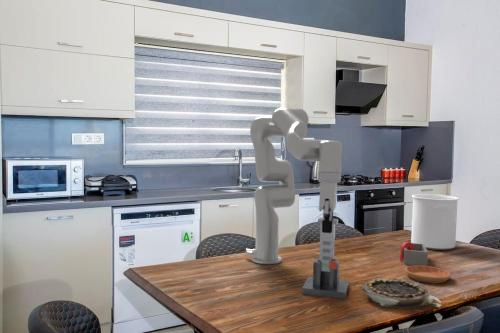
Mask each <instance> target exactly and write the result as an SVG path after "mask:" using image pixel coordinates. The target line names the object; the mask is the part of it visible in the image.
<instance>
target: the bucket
mask: <svg viewBox="0 0 500 333" xmlns="http://www.w3.org/2000/svg"><path fill="white" fill-rule="evenodd" d="M411 197H412V214H411V215H412V217H411V238H410V243H418V244H424V245H425V247H426V249H427V250H430V251H450V250H454V249H455V248H456V238H457V237H456V236H457V219H458V218H457V217H458V216H457V215H458V214H457V213H458V201H459V200H460V198H459V197H458V196H457V197H456V196H454V195H453V196H452V195H445V194H433V193H432V194H431V193H429V194H427V193H423V194H422V193H417V194H412V195H411Z"/></svg>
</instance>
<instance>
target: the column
mask: <svg viewBox="0 0 500 333" xmlns="http://www.w3.org/2000/svg"><path fill="white" fill-rule="evenodd" d="M322 220H323V217H319V218H318V219H317V224H319V226H320V227H319V233H320V234H319V253H318V254H319V256H318V257H319V262H321V271H328V272H330V269H329V261H334V259H335V246H336V245H335V243H336V225H337V226H338V223H339V218H334V219H332V218H331V221H332V232H331V233H323V232H322Z"/></svg>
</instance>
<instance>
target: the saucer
mask: <svg viewBox="0 0 500 333" xmlns="http://www.w3.org/2000/svg"><path fill="white" fill-rule="evenodd" d="M405 273H406V274H407V276H408V277H409V278H410V279H412V280H413V281H417V282H420V281H421V283H425V284H427V283H428V284H442V283H445V282H446V281H448V280H450V278H451V275H452V274H451V273H450V271H448V270H445V269H443V268H439V267H435V266H432V265H431V266H429V265H427V266H421V265H407V266H406V267H405Z"/></svg>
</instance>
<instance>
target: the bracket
mask: <svg viewBox="0 0 500 333" xmlns="http://www.w3.org/2000/svg"><path fill="white" fill-rule="evenodd" d="M407 247H408V250H413V251H414V247H413V244H412V243H411V241H405V243H404V244H403V243H402V244H401V248H400V253H399V254H400V256H399V262H402V263H404V248H407Z"/></svg>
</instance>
